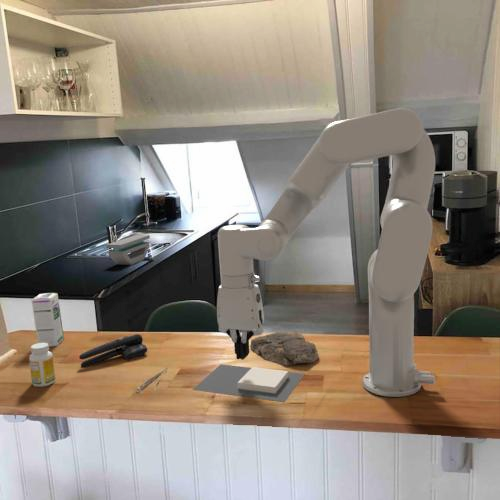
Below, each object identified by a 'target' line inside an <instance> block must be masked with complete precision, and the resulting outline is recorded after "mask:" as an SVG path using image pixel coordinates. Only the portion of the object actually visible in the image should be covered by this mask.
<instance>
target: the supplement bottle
mask: <svg viewBox="0 0 500 500" xmlns="http://www.w3.org/2000/svg"><path fill="white" fill-rule="evenodd" d="M49 350H50V346H48V343H38V342H37V343H35V344H32V345H31V346H30V352H31V354H30V355H29V357H28V361H29V368H30V376H31V381H32V382H31V383H32V384H31V385H33V386H34V387H36V388H43V387H47V386H50V385H53V384H54V383H55V381H56V373H55V364H54V357H53V353H52V352H51V351H49Z"/></svg>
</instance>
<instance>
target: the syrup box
mask: <svg viewBox="0 0 500 500" xmlns="http://www.w3.org/2000/svg"><path fill="white" fill-rule="evenodd" d="M59 300H60V299H59V294H58V293H57V292H46V293H45V292H44V293H39V294H38V295H37V296H35V297H33V298H32V299H31V305H32V312H33V319H34V326H35V333H36V339H37V343H48V346H49V347H58V346H59V344H61V342H63V340H64V339H65V336H64V330H63V321H62V314H61V309H60V301H59Z"/></svg>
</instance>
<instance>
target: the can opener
mask: <svg viewBox="0 0 500 500" xmlns="http://www.w3.org/2000/svg"><path fill="white" fill-rule="evenodd" d="M143 339H144V338H143V336H142V335H141V334H133V335H129V336H128V335H125V336H123V337H118V338H117V339H116V340H112V341H109V342H107V343H104V344H101V345H98V346H96V347H93V348H91V349H89V350H87V351H85V352H83V353H81V354H80V355H79V360H84V361H83V362H81V363H80V367H82V368H85V367H84V366H88V367H91V366H90V365H92V366H95V365H98V364H100V363H103V362H105V361H108V360H110V359H112V358H115V357H118V356H121V357H122V358H123V359H125V360H134V359H137V357H138V358H140V357H142V356H144V355H145V354H146V353H147V352H148V351H149V350H148V347H147V345H145V344H143V341H144V340H143ZM86 359H87V360H86ZM94 364H95V365H94Z"/></svg>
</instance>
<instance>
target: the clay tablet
mask: <svg viewBox="0 0 500 500" xmlns="http://www.w3.org/2000/svg"><path fill="white" fill-rule="evenodd" d="M249 349H250V350H252V351H254V352H253V353H255V354H256V355H258V356H260V355H261V356H262V358H263V359H265V360H266V361H270V362H272V363H276V364H280V365H281V366H283V367H290V366H293V365H298V364H312V363H314V362H316V361H317V360H318V358H319V356H320V355H319V353H318V349H317V346H316V344H315V343H314V342H310V341H307V340H306V338H305V337H304V336H303V335H302V334H301V333H299V332H297V331H295V332H290V331H289V332H288V331H279V332H274V333H270V334H266V335H262V336H261V335H259V336H257V337H254V338H252V339H250V344H249Z"/></svg>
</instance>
